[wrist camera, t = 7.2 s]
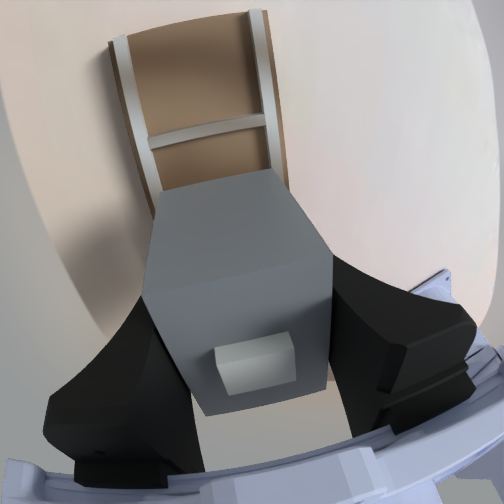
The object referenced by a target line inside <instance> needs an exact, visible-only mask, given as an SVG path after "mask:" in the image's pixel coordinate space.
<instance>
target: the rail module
mask: <svg viewBox="0 0 504 504" xmlns="http://www.w3.org/2000/svg"><path fill="white" fill-rule="evenodd" d="M332 280H333V253H332V252H331V250H330V249H329V247H328V246H327V244H326V243H325V241H324V240H323V238H322V237H321V235H320V234H319V233H318V231H317V230H316V228H315V227H314V225H313V224H312V222H311V221H310V220H309V218H308V217H307V215H306V214H305V212H304V211H303V210H302V208H301V207H300V205H299V204H298V203H297V201H296V200H295V198H294V197H293V196H292V194H291V193H290V191H289V190H288V189H287V187H286V186H285V185H284V183H283V182H282V180H281V179H280V178H279V176H278V175H277V174H276V172H275V171H274V170H273V168H271V169H265V170H260V171H254V172H249V173H244V174H239V175H234V176H229V177H224V178H219V179H214V180H210V181H205V182H201V183H196V184H192V185H187V186H183V187H179V188H174V189H170V190H166V191H162V192H160V194H159V199H158V203H157V208H156V213H155V218H154V223H153V228H152V234H151V239H150V244H149V250H148V256H147V262H146V268H145V274H144V281H143V287H142V294H141V296H142V298H143V301H144V303H145V305H146V307H147V309H148V311H149V313H150V315H151V317H152V319H153V321H154V323H155V325H156V327H157V329H158V331H159V333H160V335H161V337H162V339H163V341H164V343H165V345H166V347H167V349H168V351H169V353H170V355H171V357H172V358H173V360H174V362H175V364H176V366H177V368H178V369H179V371H180V373H181V375H182V377H183V378H184V380H185V382H186V384H187V386H188V387H189V389H190V391H191V392H192V394H193V396H194V398H195V399H196V401H197V403H198V404H199V406H200V408H201V409H202V411H203V413H204V414H205V416H212V415H218V414H223V413H229V412H235V411H240V410H245V409H250V408H254V407H259V406H264V405H268V404H272V403H277V402H281V401H285V400H289V399H293V398H297V397H300V396H304V395H308V394H311V393H315V392H318V391H322V390H325V389H326V384H327V372H328V360H329V345H330V329H331V308H332Z"/></svg>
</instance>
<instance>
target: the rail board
mask: <svg viewBox="0 0 504 504" xmlns="http://www.w3.org/2000/svg"><path fill="white" fill-rule="evenodd" d="M108 45H109V51H110V56H111V61H112V66H113V70H114V75H115V80H116V84H117V89H118V93H119V97H120V102H121V106H122V110H123V114H124V118H125V122H126V126H127V130H128V134H129V138H130V142H131V145H132V149H133V153H134V156H135V160H136V164H137V167H138V171H139V174H140V177H141V181H142V184H143V188H144V191H145V194H146V198H147V201H148V204H149V207H150V210H151V214H152V217H153V220H154V218H155V213H156V208H157V203H158V199H159V194H160V192H162V191H166V190H170V189H174V188H179V187H183V186H187V185H192V184H196V183H201V182H205V181H210V180H214V179H219V178H224V177H229V176H234V175H239V174H244V173H249V172H254V171H260V170H265V169H271V168H273V170H274V171H275V172H276V174H277V175H278V176H279V178H280V179H281V180H282V182H283V183H284V185H285V186H286V187H287V189H288V190H289V180H288V170H287V160H286V151H285V141H284V132H283V124H282V115H281V107H280V99H279V91H278V83H277V76H276V68H275V61H274V54H273V47H272V40H271V34H270V27H269V21H268V14H267V10H262V9H253V10H248V11H247V12H241V13H232V14H225V15H218V16H211V17H205V18H199V19H194V20H189V21H184V22H179V23H174V24H170V25H166V26H161V27H157V28H153V29H150V30H146V31H142V32H139V33H135V34H132V35H128V36H126V35H122V36H119V37H116V38H113V41H110V42H108ZM289 191H290V190H289Z"/></svg>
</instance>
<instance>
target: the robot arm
mask: <svg viewBox="0 0 504 504" xmlns="http://www.w3.org/2000/svg"><path fill="white" fill-rule="evenodd" d="M329 363H330V366H331V369H332V371H333V374H334V377H335V380H336V383H337V386H338V389H339V392H340V395H341V399H342V402H343V405H344V408H345V412H346V415H347V419H348V422H349V426H350V430H351V433H352V437H353V438H352V439H349V440H346V441H343V442H340V443H337V444H334V445H331V446H327V447H324V448H321V449H317V450H314V451H310V452H307V453H303V454H299V455H295V456H291V457H287V458H283V459H279V460H274V461H269V462H265V463H260V464H255V465H250V466H244V467H238V468H232V469H226V470H219V471H211V472H205V468H204V464H203V459H202V455H201V451H200V446H199V441H198V435H197V430H196V425H195V419H194V412H193V406H192V399H191V391H190V389H189V387H188V386H187V384H186V382H185V380H184V378H183V377H182V375H181V373H180V371H179V369H178V368H177V366H176V364H175V362H174V360H173V358H172V357H171V355H170V353H169V351H168V349H167V347H166V345H165V343H164V341H163V339H162V337H161V335H160V333H159V331H158V329H157V327H156V325H155V323H154V321H153V319H152V317H151V315H150V313H149V311H148V309H147V307H146V305H145V303H144V301H143V298H142V296H140V298H139V299H138V301H137V303H136V304H135V306H134V308H133V309H132V311H131V312H130V314H129V315H128V317H127V318H126V320H125V322H124V323H123V324H122V326H121V327H120V328H119V330H118V331H117V332H116V334H115V335H114V336H113V338H112V339H111V340H110V341H109V343H108V344H107V345H106V346H105V347H104V348H103V349H102V350H101V351H100V352H99V354H98V355H97V356H96V357H95V358H94V359H93V360H92V361H91V362H90V363H89V364H88V365H87V366H86V367H85V368H84V369H83V370H82V371H81V372H80V373H78V374H77V375H76V376H75V377H74V378H73V379H72V380H70V381H69V382H68V383H67V384H66V385H64V386H63V387H62V388H60V389H59V390H58V391H56V392H55V393H54V394H52V395H51V396H50V397H49V401H48V406H47V411H46V416H45V421H44V426H43V435H44V436H45V438H46V439H47V441H48V442H49V443H50V444H52V445H53V446H54V447H55V448H57V449H58V450H60V451H61V452H63V453H64V454H65V455H67V456H68V457H70V458H72V459H73V460H75V468H74V475H72V474H61V473H53V472H46V471H44V470H43V469H42V468H40V467H39V466H37V465H35V464H32V463H30V462H26V461H21V460H15V459H9V458H8V459H7V461H6V467H5V474H4V482H3V491H2V502H1V504H443V503H442V501H441V498H440V496H439V494H438V491H437V489H436V487H435V485H436V484H438V483H440V482H442V481H443V480H445V479H447V478H449V477H450V476H452V475H455V476H456V477H457V478H461V479H489V480H491V481H492V483H493V485H494V487H495V488H496V490H497V492H498V494H499V496H500V498H501V500H502V502H503V504H504V346H503V345H500V346H499V347H498V348H497V350H496V349H494V348H493V347H492V346H491V345H490V344H489V342H488V341H487V339H486V338H485V337H484V335H483V334H482V333H481V332H480V330H479V329H478V328H477V326H476V323H475V322H474V321H473V319H472V318H471V317H470V316H469V314H468V313H467V312H466V311H465V310H464V308H463V307H462V306H461V305H460V304H458V303H457V302H456V301H455V299H454V298H453V297H452V296H451V272H450V270H449V269H446V270H444V271H442V272H441V273H439V274H438V275H436V276H435V277H433V278H432V279H430V280H429V281H427V282H425V283H424V284H422V285H421V286H419V287H418V288H416V289H414V290H413V291H411V292H407V291H404V290H401V289H399V288H396V287H393V286H391V285H388V284H386V283H384V282H382V281H379V280H377V279H375V278H373V277H371V276H369V275H367V274H365V273H363V272H361V271H360V270H358V269H356V268H354V267H353V266H351V265H349V264H348V263H346V262H344V261H343V260H341V259H340V258H338V257H337V256H335V255H333V280H332V308H331V329H330V345H329Z"/></svg>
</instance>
